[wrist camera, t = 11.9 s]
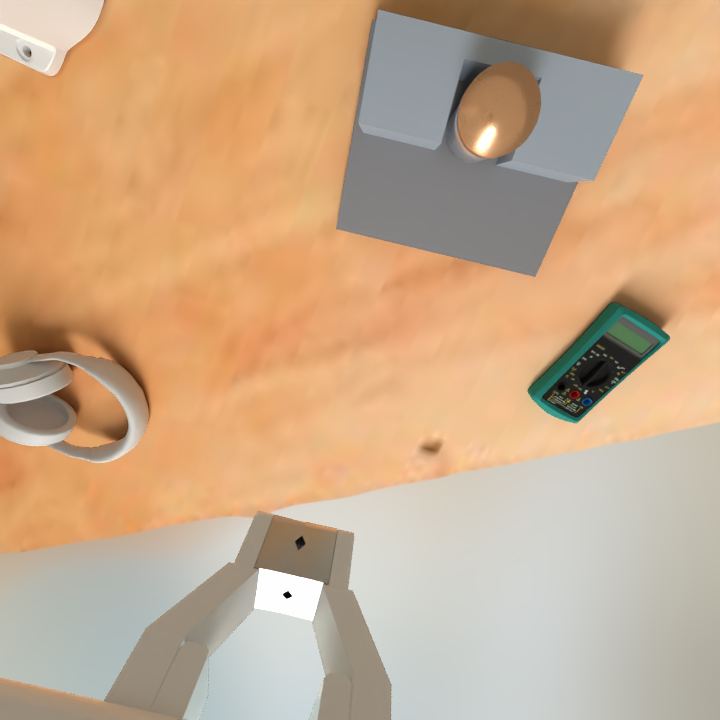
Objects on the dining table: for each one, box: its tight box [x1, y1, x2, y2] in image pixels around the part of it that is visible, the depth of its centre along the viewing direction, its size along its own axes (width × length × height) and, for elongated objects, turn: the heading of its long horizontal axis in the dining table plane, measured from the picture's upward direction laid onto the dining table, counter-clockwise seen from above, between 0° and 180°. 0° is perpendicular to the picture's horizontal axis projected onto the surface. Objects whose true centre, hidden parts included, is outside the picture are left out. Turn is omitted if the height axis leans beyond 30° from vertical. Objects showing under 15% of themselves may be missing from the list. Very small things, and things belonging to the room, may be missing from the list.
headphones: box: [0, 350, 149, 463], centre depth 49 cm, size 18×8×20 cm
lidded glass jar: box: [446, 62, 541, 164], centre depth 27 cm, size 5×5×9 cm
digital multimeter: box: [528, 302, 670, 423], centre depth 41 cm, size 7×15×3 cm, turn 151°
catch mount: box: [336, 9, 643, 277], centre depth 31 cm, size 22×17×6 cm
